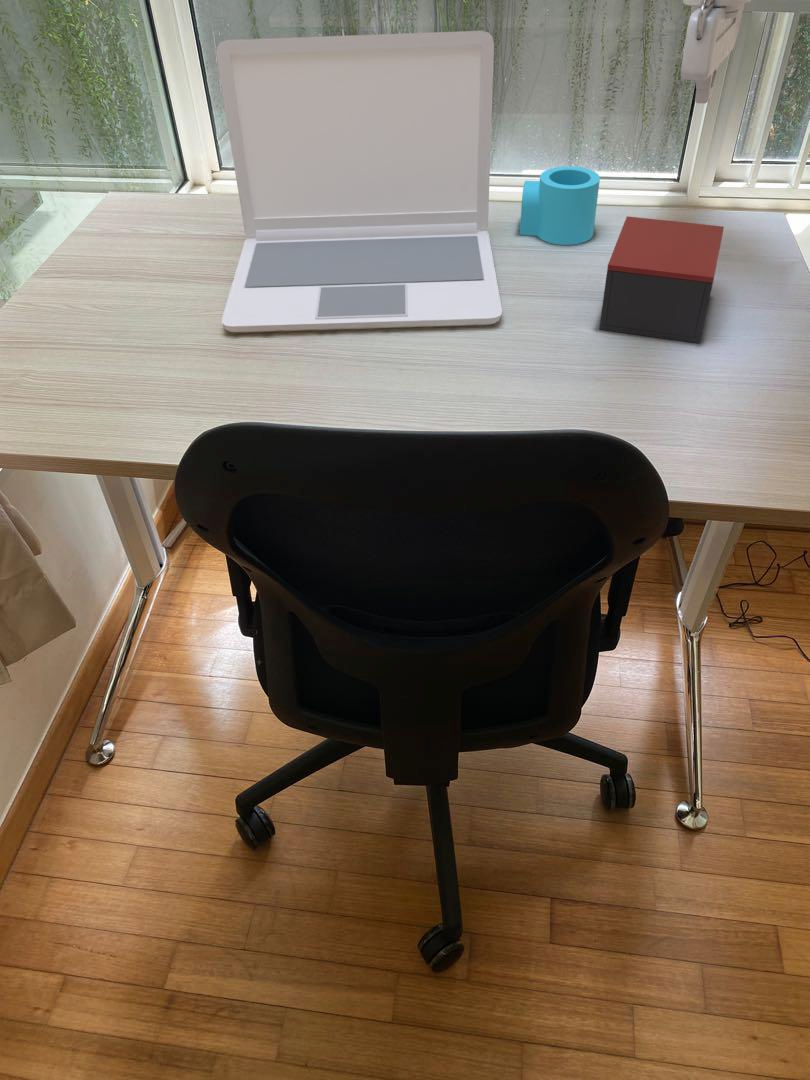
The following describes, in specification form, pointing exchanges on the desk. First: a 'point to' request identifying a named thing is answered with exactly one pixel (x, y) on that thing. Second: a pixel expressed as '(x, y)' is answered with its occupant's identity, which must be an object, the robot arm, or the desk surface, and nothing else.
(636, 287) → the dark grey box
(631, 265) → the lid
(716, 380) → the desk surface
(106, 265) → the desk surface
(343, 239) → the laptop
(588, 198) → the cup
